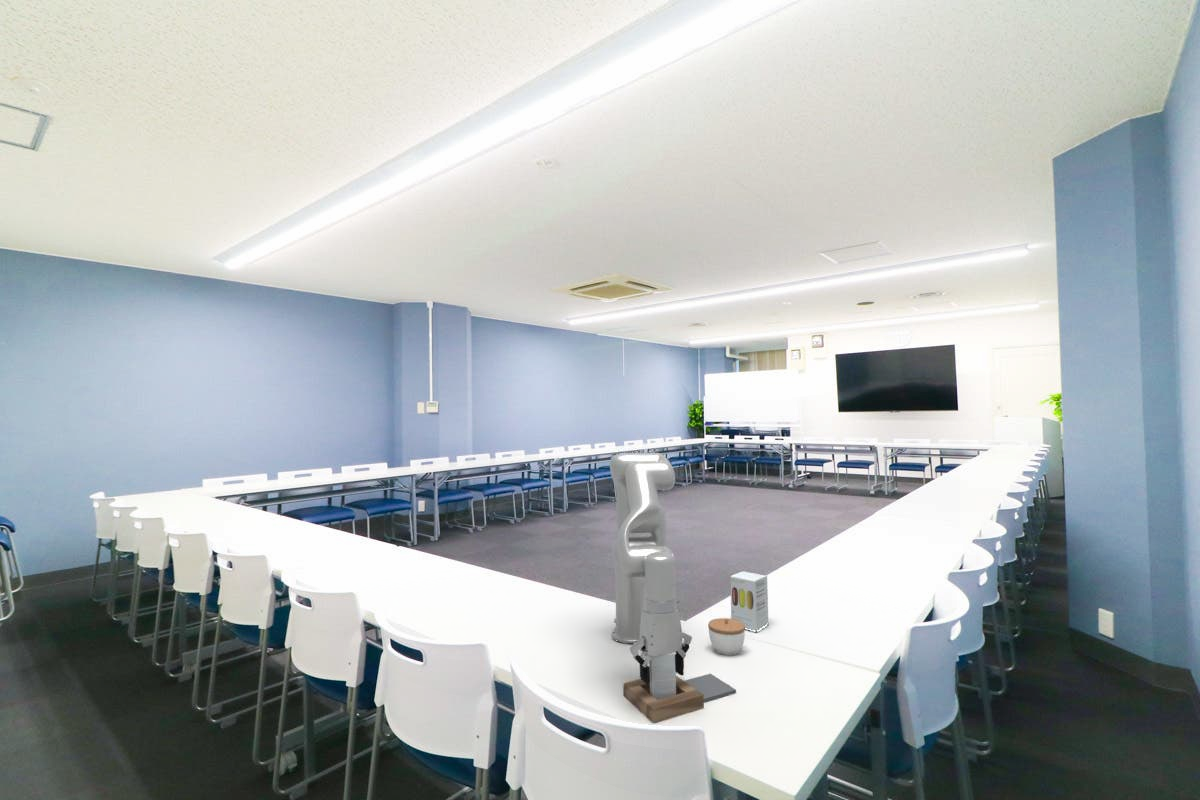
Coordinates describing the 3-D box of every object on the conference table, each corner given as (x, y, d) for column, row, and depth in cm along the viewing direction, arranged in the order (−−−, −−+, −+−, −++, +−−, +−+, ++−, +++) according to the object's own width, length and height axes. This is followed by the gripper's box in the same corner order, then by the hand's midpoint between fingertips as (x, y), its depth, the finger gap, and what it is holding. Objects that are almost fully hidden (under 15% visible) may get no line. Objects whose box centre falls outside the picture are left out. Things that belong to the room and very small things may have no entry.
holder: (623, 695, 128) (623, 683, 128) (670, 683, 134) (670, 671, 134) (653, 723, 115) (653, 709, 115) (703, 707, 121) (703, 694, 122)
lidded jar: (740, 661, 146) (739, 627, 147) (704, 654, 152) (703, 621, 152) (749, 647, 156) (748, 616, 156) (714, 641, 161) (714, 610, 162)
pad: (679, 685, 133) (679, 681, 133) (710, 676, 137) (710, 673, 137) (703, 702, 124) (703, 699, 124) (736, 693, 128) (735, 689, 128)
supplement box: (730, 626, 173) (728, 575, 174) (743, 619, 180) (741, 570, 181) (757, 633, 167) (755, 580, 168) (769, 626, 173) (767, 575, 175)
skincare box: (673, 696, 127) (672, 646, 128) (676, 705, 122) (675, 654, 123) (649, 697, 126) (648, 647, 127) (651, 706, 122) (650, 654, 123)
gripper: (680, 595, 133) (682, 664, 132) (622, 606, 126) (623, 678, 124) (698, 603, 127) (700, 676, 125) (638, 615, 119) (639, 692, 117)
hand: (662, 677), depth 125 cm, fingers open, 9 cm apart
